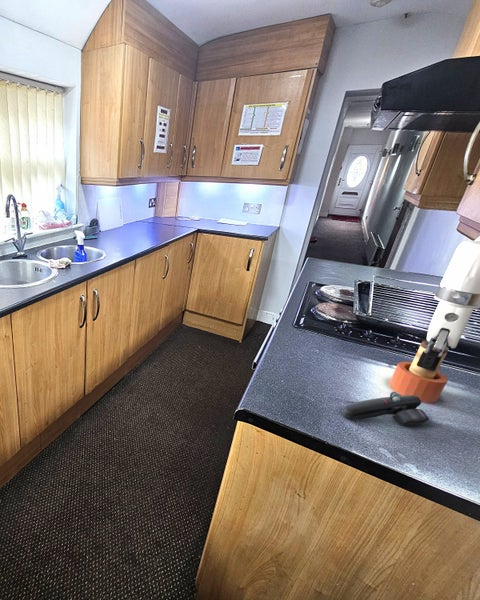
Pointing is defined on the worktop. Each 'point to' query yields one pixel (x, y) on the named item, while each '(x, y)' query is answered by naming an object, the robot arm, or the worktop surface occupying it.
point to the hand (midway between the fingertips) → (426, 363)
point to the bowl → (417, 383)
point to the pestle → (423, 371)
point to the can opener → (389, 409)
